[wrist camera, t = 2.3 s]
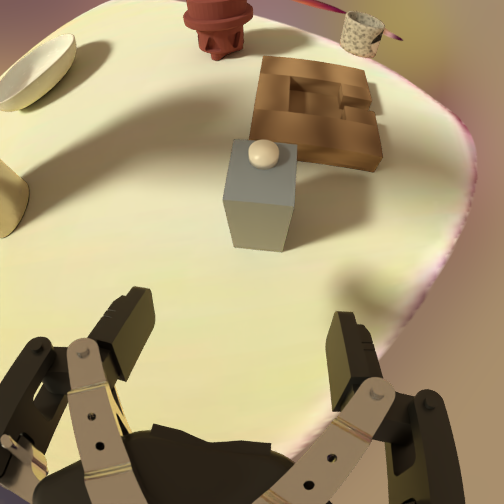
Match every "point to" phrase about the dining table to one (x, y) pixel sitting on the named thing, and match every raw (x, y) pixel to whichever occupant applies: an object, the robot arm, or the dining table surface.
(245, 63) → the dining table surface
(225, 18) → the mechanical component
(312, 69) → the plate
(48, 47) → the serving bowl
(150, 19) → the dining table surface
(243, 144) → the block
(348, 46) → the mug
